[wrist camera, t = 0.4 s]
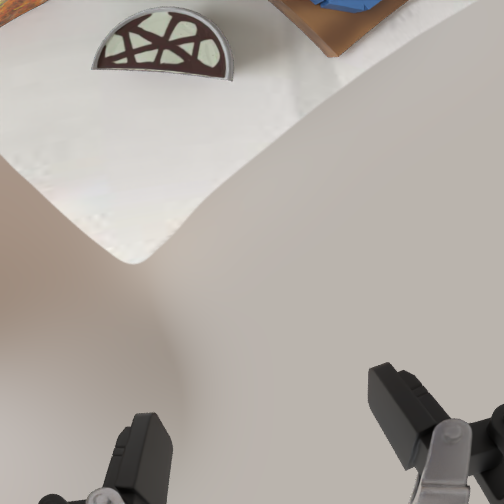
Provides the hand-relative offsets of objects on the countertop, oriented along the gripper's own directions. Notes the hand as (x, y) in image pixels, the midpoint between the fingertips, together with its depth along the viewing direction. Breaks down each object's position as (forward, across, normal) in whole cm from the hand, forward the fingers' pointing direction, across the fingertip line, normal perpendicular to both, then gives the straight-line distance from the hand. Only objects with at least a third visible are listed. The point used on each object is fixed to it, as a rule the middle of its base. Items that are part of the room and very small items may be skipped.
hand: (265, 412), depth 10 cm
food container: (+23, +2, -24) cm, 33 cm away
